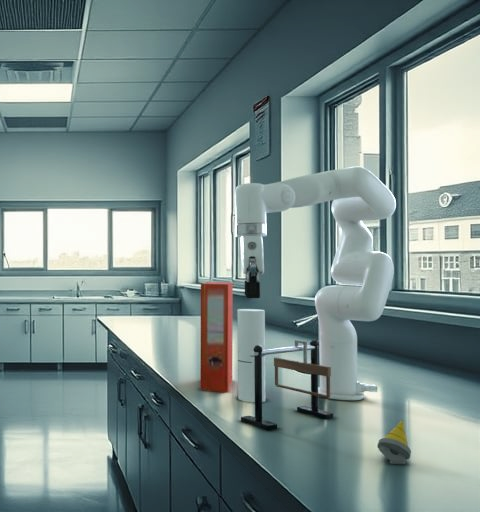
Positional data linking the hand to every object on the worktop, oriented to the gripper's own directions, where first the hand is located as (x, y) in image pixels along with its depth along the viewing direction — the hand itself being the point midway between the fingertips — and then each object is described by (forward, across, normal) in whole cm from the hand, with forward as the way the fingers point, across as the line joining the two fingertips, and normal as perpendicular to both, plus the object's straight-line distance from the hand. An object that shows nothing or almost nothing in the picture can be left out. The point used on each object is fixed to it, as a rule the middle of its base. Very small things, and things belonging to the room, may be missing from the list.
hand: (252, 296), depth 143 cm
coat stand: (+29, -7, -7) cm, 31 cm away
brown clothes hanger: (+23, -4, -11) cm, 26 cm away
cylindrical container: (+30, +12, 0) cm, 32 cm away
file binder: (+30, +27, +9) cm, 41 cm away
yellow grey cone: (+30, -30, -24) cm, 48 cm away
